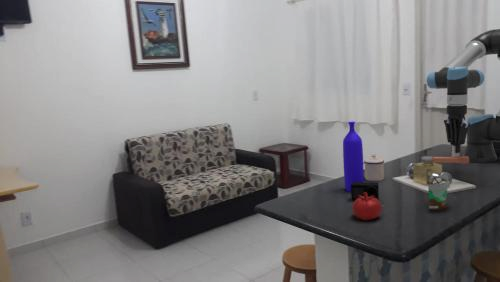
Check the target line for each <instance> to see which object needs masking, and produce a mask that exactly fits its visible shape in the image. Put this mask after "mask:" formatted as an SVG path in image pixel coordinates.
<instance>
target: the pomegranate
mask: <svg viewBox="0 0 500 282" xmlns="http://www.w3.org/2000/svg"><path fill="white" fill-rule="evenodd" d="M359 196H360V197H359V198H358V199H356V200H355V201H353V204H352V209H351V210H352V213H353V215H354V216H355V217H356V219H359V220H362V221H370V220H374V219H376V218H378V217H380V215H381V213H382V211H383V210H382V209H383V207H382V204H381V202H380V199H379V200H378V199H376V198H374V197H372V196H370V197H367V192H364V197H363V196H361V195H359Z"/></svg>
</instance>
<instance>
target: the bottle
mask: <svg viewBox="0 0 500 282" xmlns="http://www.w3.org/2000/svg"><path fill="white" fill-rule="evenodd" d="M347 123H348V125H349V126H348V127H349V131H348V132H347V134H345V136H344V137H343V139H342V140H343V141H342V157H343V158H342V159H343V160H342V163H343V180H344V189H345V190H346V192H349V193H351V183H352V182H365V173H364V170H365V168H364V164H363V162H364V152H363V151H364V149H363V140H362V138H361V136H360V135H359V134H358V133H357V132H356V131H355V123H356V121H353V120H352V121H348V122H347Z"/></svg>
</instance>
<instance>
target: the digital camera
mask: <svg viewBox="0 0 500 282" xmlns="http://www.w3.org/2000/svg"><path fill="white" fill-rule="evenodd" d="M379 188H380V187H379V181H369V182H368V181H364V182H352V183H351V192H350V194H351V195H350V196H351V199H350V200H351V202H355V200H356V199H358V198H359V197H360V196H359V195H361V196H363V197H364V192H367V197H370V196H372V197H374V198H376V199H378V200H379V201H380V193H379V192H380V191H379V190H380V189H379Z"/></svg>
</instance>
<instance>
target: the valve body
mask: <svg viewBox="0 0 500 282" xmlns="http://www.w3.org/2000/svg"><path fill="white" fill-rule="evenodd" d="M405 174H406V175H407V176H409V177H412V178H414V182H417V183H420V184H422V185H425V186H429V184H431V181H432V180H433V176H438V177H443V178H446V179H447V180H448V182H449V185H450V184H451V182H452V179H453V177H452V174H451V172H450V173H449V172H447V171H443V164H441V163H438V162H432V163H423V162H422V161H421V162H418V163H415V162H410V163H409V164H407V165H406V167H405Z"/></svg>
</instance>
